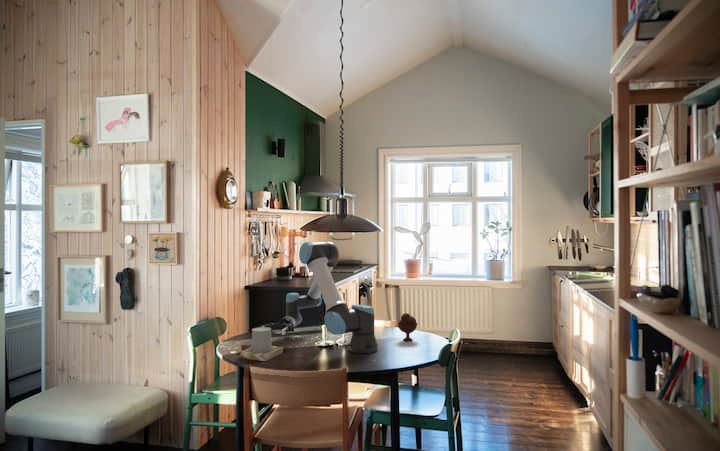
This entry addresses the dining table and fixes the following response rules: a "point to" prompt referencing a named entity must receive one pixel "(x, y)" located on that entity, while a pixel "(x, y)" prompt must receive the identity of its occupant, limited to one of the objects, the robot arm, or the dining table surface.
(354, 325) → the robot arm
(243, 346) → the walnut block
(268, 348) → the speckled tin can
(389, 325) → the dining table surface
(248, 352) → the oak tray
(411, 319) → the ice cream bowl
